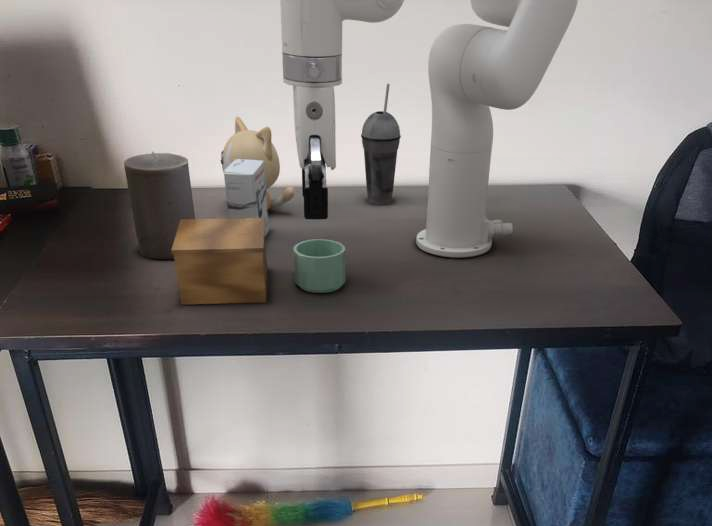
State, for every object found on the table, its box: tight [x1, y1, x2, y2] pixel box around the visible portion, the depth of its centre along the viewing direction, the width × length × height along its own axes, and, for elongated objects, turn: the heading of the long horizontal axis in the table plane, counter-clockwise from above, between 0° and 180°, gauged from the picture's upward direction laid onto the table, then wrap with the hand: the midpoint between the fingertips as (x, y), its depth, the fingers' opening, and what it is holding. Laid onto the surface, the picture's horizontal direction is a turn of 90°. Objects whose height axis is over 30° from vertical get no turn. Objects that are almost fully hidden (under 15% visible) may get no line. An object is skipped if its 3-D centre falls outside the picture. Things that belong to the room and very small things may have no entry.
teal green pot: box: [293, 238, 347, 294], centre depth 113 cm, size 8×8×6 cm
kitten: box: [219, 116, 296, 211], centre depth 137 cm, size 15×10×15 cm
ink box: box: [223, 159, 270, 237], centre depth 126 cm, size 9×5×12 cm, turn 174°
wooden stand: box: [171, 218, 268, 306], centre depth 111 cm, size 12×12×8 cm
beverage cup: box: [360, 83, 402, 206], centre depth 140 cm, size 7×7×20 cm
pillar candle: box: [123, 151, 196, 260], centre depth 121 cm, size 10×10×15 cm
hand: (314, 207), depth 108 cm, fingers open, 9 cm apart
